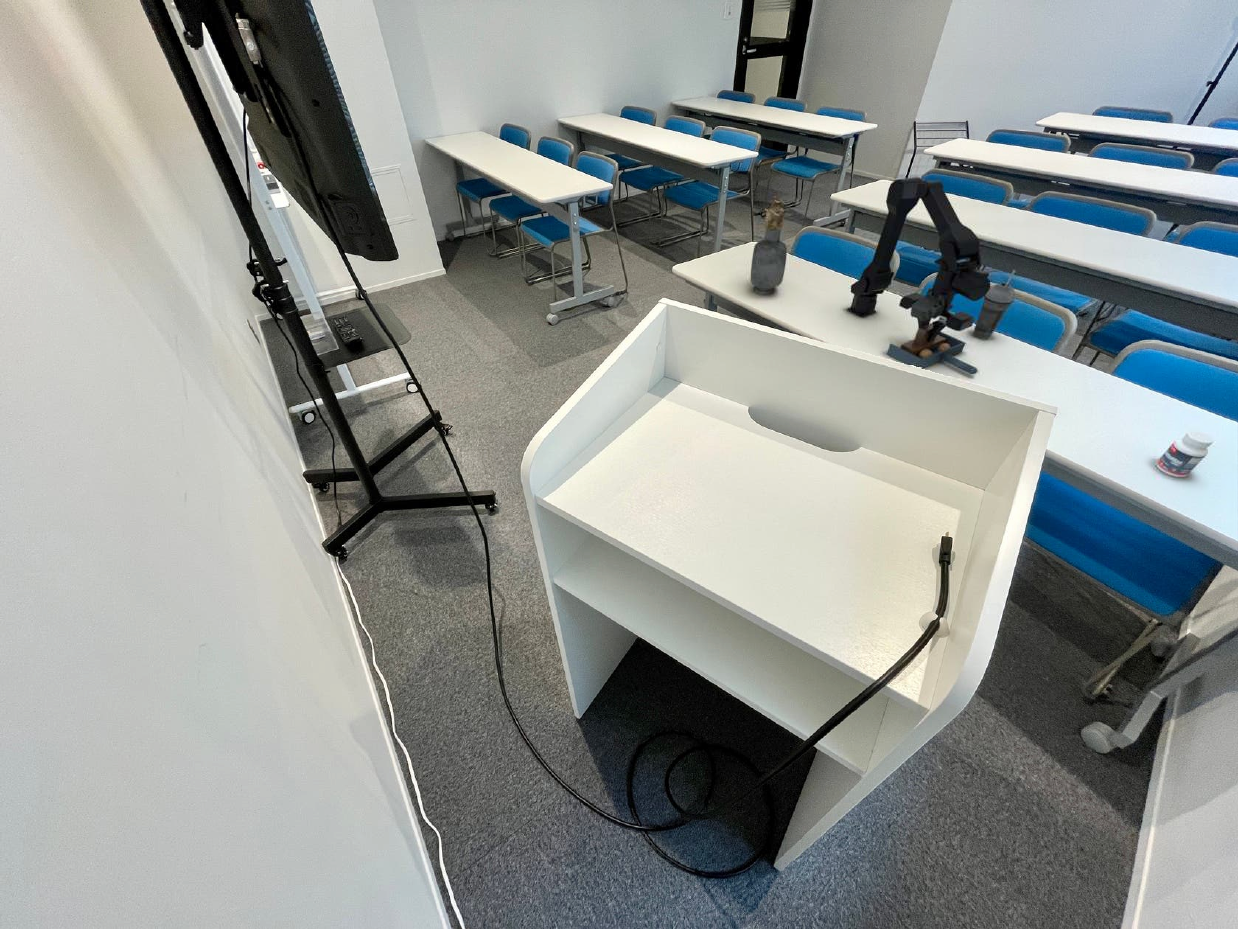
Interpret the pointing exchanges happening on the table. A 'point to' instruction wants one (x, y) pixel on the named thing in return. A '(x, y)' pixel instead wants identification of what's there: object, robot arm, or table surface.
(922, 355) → the light brown ball
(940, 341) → the brush
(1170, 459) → the pill bottle
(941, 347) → the brown rounded piece
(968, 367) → the dustpan
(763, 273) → the grey tall bottle-shaped piece
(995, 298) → the beverage cup
